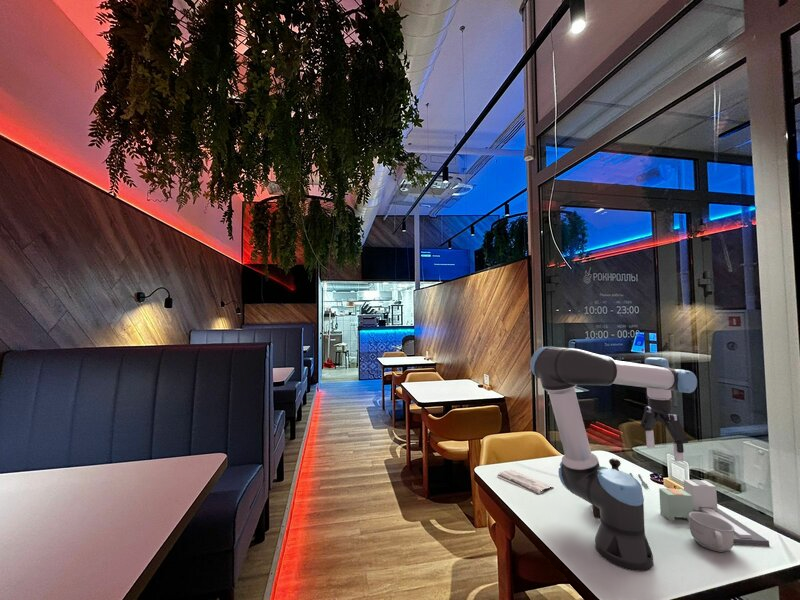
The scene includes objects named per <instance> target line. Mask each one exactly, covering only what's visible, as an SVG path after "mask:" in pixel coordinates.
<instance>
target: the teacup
mask: <svg viewBox="0 0 800 600" xmlns="http://www.w3.org/2000/svg"><path fill="white" fill-rule="evenodd" d="M689 517H690V521H689V531H690V534H691V536H692V538H694V539H695V540H696V541H697V543H698V544H699V545H701V546H702V547H704V548H706V549H709V550H711V551H713V552H714V551H715V552H718V553H719V552H720V553H723V552H727V551H730V550H732V549H733V548H734V547H733V546H734V544H733V541H734V527H733V526H732V525H731V524H730V523H728V522H727V521H725V520H723V519H721V518H718V517H716V516H713V515H710V514H707V513H702V512H691V513H689Z"/></svg>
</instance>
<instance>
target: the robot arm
mask: <svg viewBox="0 0 800 600" xmlns="http://www.w3.org/2000/svg"><path fill="white" fill-rule="evenodd" d="M530 370H531V373H532V374H533V375H534V377H536V378H538V379H540V383H541V386H542V389H544V391H547V393H548V396H549V400H550V404H551V406H552V412H553V415H554V419H555V422H556V423H555V424H556V426H557V429H558V433H559V439H560V442H561V445H562V450H563V452H564V455H562V457H561V461H560V463H559V466H560V467H558V478H559V480H560V483H561V484H562V486H563V487H564V488H565V489H566V490H568V491H569V492H571V494H573V495H575V496H577V497H579V498H580V499H582V500H584V501H585V502H587V503H589V504H590V505H591V506H592V505H594V506H596V507H597V508H599V509H600V519H599V520H600V522H599V525H598V527H597V528H598V529H597V532H596V534H595V537H594V547H595V550H596V552H597V553H598V554H599V556H600V557H602V558H603V559H604V560H606V561H607V562H608V563H610V564H613V565H615V566H617V567H619V568H622V569H625V570H630V571H633V572H644V571H645V572H647V571H649V570H651V569H652V568H653V567H654V554H653V552H652V551H653V550H652V548H651V546H650V543H649V540H648V539H647V538H648V537H647V536H646V533H645V532H646V530H645V507H644V506H645V505H644V503H645V498H644V497H645V496H644V494H643V488H642V487H643V486H642V484H641V483H640V482H639V481H638V479H637V478H636V477H634V476H633V477H632V476H631V475H630V473H627V472H625V471H622V470H619V471H617V470H615V469H612V468H609V467H606V468H607V469H602V470H601V468H600V467H601V466H600V462H599V459H598V457H597V455H596V454H594V453H592V451H591V446H590V442H589V439H588V434H587V431H586V428H585V422H584V421H583V420H584V419H583V416H582V413H581V408H580V404H579V400H578V397H577V396H578V395H577V393H576V390H575V388H576V387H577V386H602V387H603V386H604V387H607V386H611V385H613V384H615V385H622V386H630V387H631V386H632V387H639V388H646V393H647V395H646V396H647V397H648V398H647V404H648V405H647V406H644V413H643V415H642V418H641V421H640V424H639V426H640V428H643V430H644V435H645V440H646V441H645V443H646V448H649V449H650V448H652V449H653V448H655V447H656V446H655V445H656V444H655V437H654V436H655V434H654V429H653V428H654V427H655V426H656V425H657V423H660V424H662V425H663V426H665V427H666V429H667V431H668V433H669V434H670V437H672V439H673V441H674V442H673V444H672V446H673V456H674V458H673V459H674V461H675V462H684V452H685V451H684V450H685V449H684V444H689V440H688V438H687V435H686V434H685V430H684V429H683V426H682V424H681V422H680V416H679V415H678V414H672V412H671V410H673V399H672V391H673V392H679V393H687V394H691V393H693V392H695V391H696V388H697V387H698V379H697V376H696V374H695V373H694V372H692V371H690V370H687V369H686V370H685V369H683V368H682V369H679V368H677V369H676V368H671V367H670V365H669V360H668V359H667V358H665V357H656V356H655V357H654V356H653V357H646V358H645V359H644V363H637V362H631V361H622V360H615V359H613V358H612V357H610V356H608V355H603V354H598V353H594V352H592V351H591V352H590V351H587V350H583V349H579V348H572V347H571V348H570V347H560V346H559V347H557V346H552V345H551V346H542V347H539V348H537V349H536V350H535V351H534V353H533V355H532V356H531V358H530Z"/></svg>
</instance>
